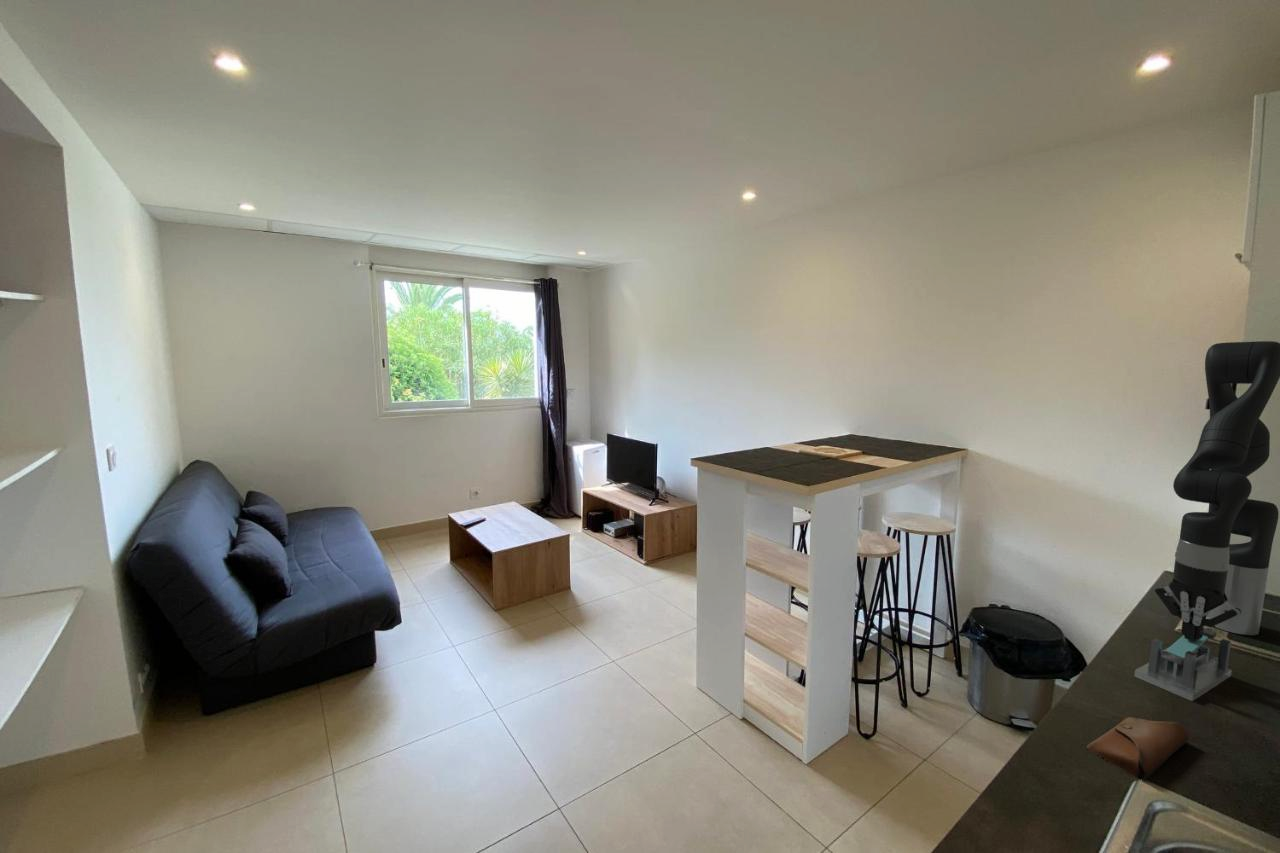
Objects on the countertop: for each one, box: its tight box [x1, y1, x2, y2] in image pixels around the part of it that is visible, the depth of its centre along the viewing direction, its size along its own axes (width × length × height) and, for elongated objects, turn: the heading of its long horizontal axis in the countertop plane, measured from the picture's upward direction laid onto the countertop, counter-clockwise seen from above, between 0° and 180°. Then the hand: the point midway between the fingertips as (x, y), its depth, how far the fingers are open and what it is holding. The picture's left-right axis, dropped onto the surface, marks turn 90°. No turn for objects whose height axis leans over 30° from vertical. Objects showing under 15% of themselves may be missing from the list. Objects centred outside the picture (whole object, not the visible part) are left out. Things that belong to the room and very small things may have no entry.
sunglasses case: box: [1086, 716, 1189, 781], centre depth 90 cm, size 18×7×7 cm
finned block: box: [1134, 638, 1232, 702], centre depth 109 cm, size 18×9×8 cm, turn 115°
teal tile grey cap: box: [1161, 627, 1217, 665], centre depth 109 cm, size 14×4×2 cm, turn 114°
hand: (1190, 639), depth 109 cm, fingers closed
